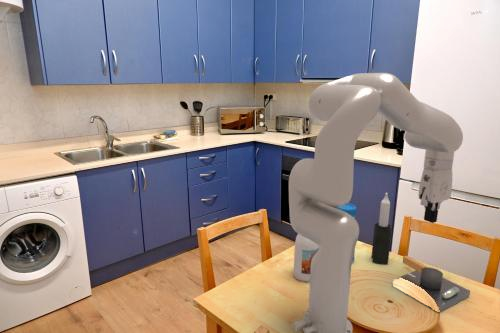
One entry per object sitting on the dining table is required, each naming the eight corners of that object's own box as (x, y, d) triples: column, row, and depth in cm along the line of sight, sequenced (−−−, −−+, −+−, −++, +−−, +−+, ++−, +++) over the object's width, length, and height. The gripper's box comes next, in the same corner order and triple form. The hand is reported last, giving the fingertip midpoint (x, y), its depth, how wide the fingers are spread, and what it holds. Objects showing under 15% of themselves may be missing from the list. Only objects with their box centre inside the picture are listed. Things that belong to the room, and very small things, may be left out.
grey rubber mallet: (445, 287, 102) (447, 273, 101) (432, 291, 99) (434, 277, 98) (409, 266, 113) (411, 254, 112) (397, 270, 111) (398, 257, 110)
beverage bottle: (354, 267, 117) (359, 211, 112) (328, 263, 119) (332, 208, 115) (354, 256, 124) (359, 203, 120) (330, 252, 127) (334, 200, 122)
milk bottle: (291, 279, 109) (293, 220, 104) (295, 267, 116) (298, 211, 111) (316, 284, 107) (319, 223, 102) (318, 271, 114) (322, 214, 109)
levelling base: (438, 313, 94) (440, 300, 93) (391, 285, 106) (392, 274, 105) (469, 296, 101) (471, 285, 100) (422, 273, 113) (423, 262, 113)
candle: (388, 265, 118) (396, 195, 113) (372, 263, 119) (379, 194, 114) (385, 258, 123) (393, 191, 117) (370, 256, 124) (377, 190, 118)
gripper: (435, 169, 96) (426, 230, 101) (464, 163, 104) (455, 220, 108) (411, 163, 103) (404, 221, 107) (440, 158, 110) (432, 213, 114)
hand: (430, 220), depth 108 cm, fingers closed
